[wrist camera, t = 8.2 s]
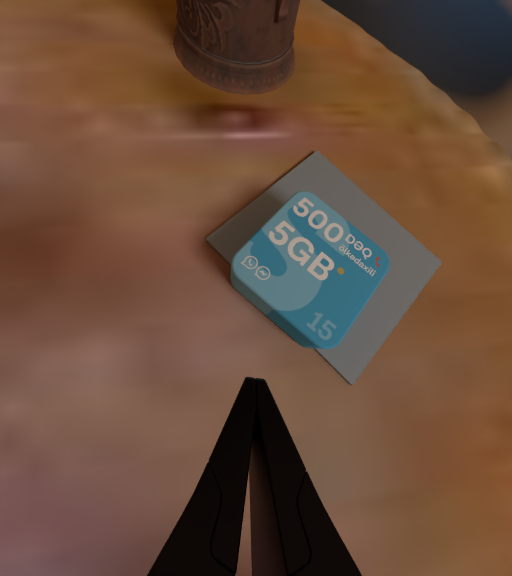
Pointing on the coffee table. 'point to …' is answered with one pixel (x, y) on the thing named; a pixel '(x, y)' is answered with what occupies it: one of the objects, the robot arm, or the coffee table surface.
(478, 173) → the coffee table surface
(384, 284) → the slate rubber mat
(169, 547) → the robot arm
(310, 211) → the data package
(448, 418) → the coffee table surface
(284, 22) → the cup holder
